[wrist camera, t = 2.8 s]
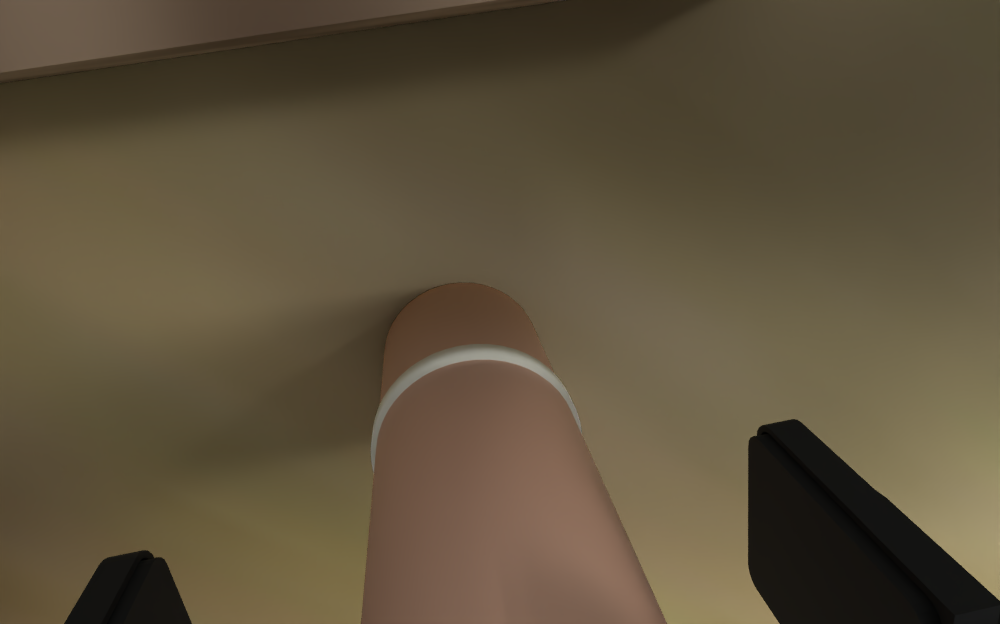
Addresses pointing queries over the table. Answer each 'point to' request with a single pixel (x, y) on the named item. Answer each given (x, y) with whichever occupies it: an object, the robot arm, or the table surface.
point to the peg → (488, 480)
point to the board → (189, 27)
